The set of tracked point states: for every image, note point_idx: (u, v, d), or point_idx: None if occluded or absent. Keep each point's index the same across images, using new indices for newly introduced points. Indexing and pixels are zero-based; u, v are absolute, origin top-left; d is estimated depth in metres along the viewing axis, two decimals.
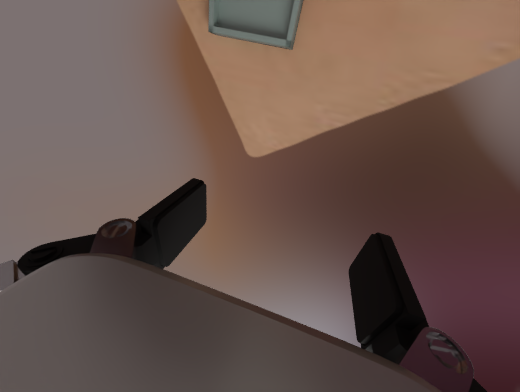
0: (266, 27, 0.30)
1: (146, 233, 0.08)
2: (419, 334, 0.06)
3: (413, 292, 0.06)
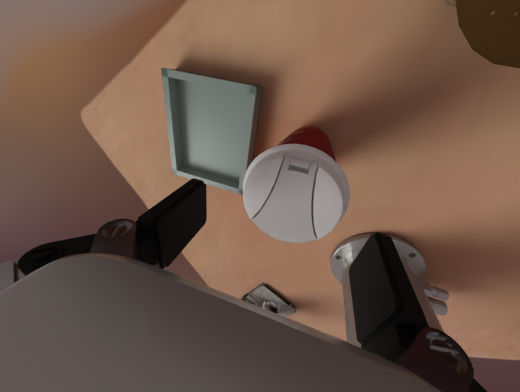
0: (189, 144, 0.28)
1: (146, 233, 0.08)
2: (419, 334, 0.06)
3: (413, 292, 0.06)
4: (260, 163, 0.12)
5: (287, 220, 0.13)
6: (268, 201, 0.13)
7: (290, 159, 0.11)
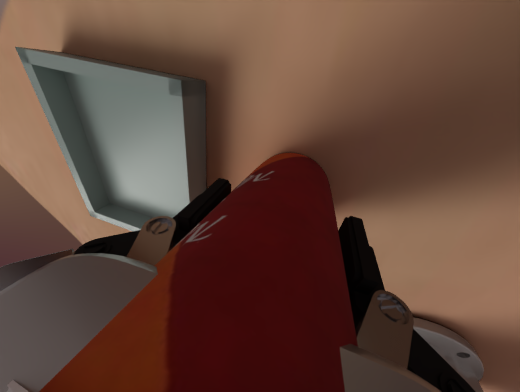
0: (108, 174, 0.18)
1: (183, 230, 0.08)
2: (371, 295, 0.06)
3: (372, 263, 0.07)
4: None
5: None
6: None
7: None
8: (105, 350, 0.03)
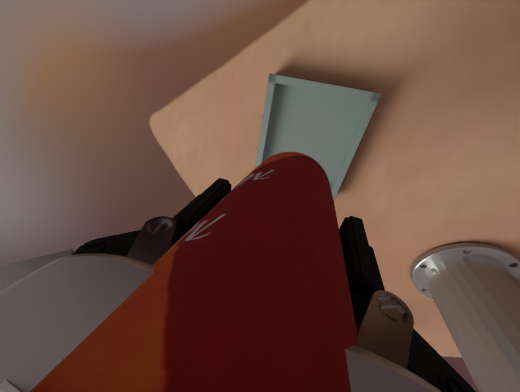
0: (274, 151, 0.27)
1: (183, 230, 0.08)
2: (372, 295, 0.06)
3: (372, 262, 0.07)
4: None
5: None
6: None
7: None
8: (101, 350, 0.03)
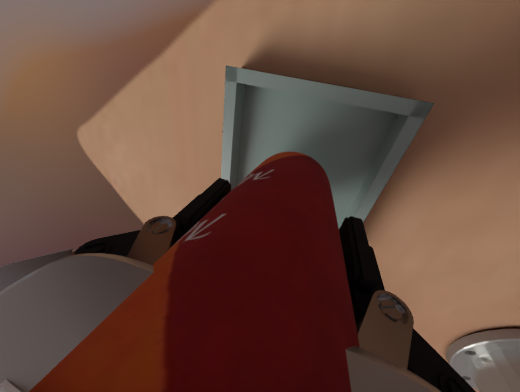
0: None
1: (183, 230, 0.08)
2: (371, 295, 0.06)
3: (372, 262, 0.07)
4: None
5: None
6: None
7: None
8: (102, 349, 0.03)
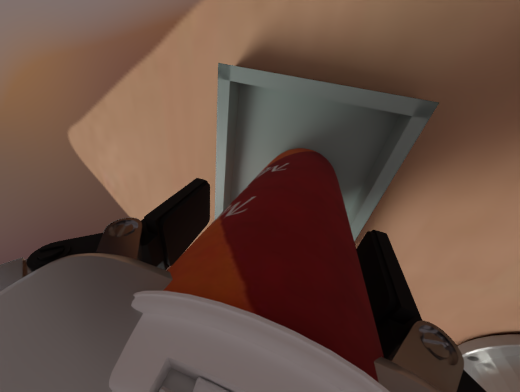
0: None
1: (152, 232, 0.08)
2: (412, 327, 0.06)
3: (407, 287, 0.06)
4: None
5: None
6: None
7: None
8: (193, 275, 0.04)
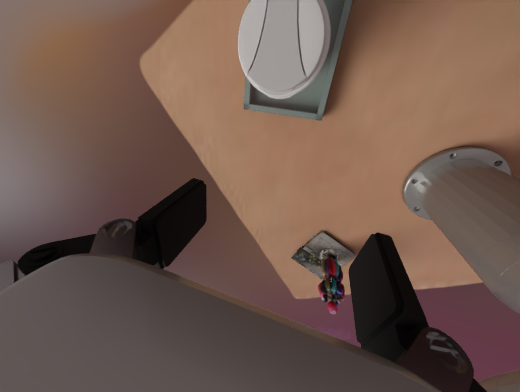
0: None
1: (146, 233, 0.08)
2: (419, 334, 0.06)
3: (413, 292, 0.06)
4: (251, 0, 0.14)
5: (279, 62, 0.15)
6: (260, 44, 0.15)
7: None
8: None
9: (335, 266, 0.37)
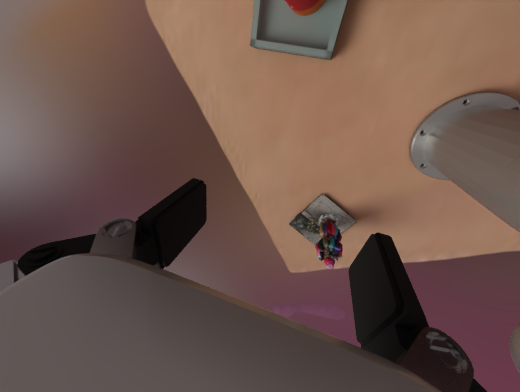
0: (271, 8, 0.27)
1: (146, 233, 0.08)
2: (419, 334, 0.06)
3: (413, 292, 0.06)
4: None
5: None
6: None
7: None
8: None
9: (334, 227, 0.36)
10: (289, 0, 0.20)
